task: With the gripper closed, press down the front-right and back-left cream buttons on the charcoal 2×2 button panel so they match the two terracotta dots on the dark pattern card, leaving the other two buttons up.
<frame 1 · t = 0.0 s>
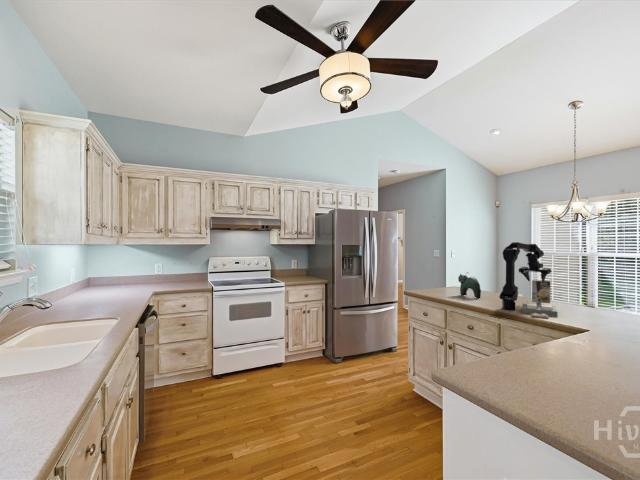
hand: (536, 281, 215), 16 cm above the table, tool pointing down, fingers open, 9 cm apart
button front left: (531, 306, 189), point 4 cm above the table, slide at 0.0 cm
button back right: (546, 305, 190), point 4 cm above the table, slide at 0.0 cm
pattern card: (539, 316, 178), on the table
control panel: (539, 312, 190), on the table
coffee box: (541, 303, 216), on the table
ceramic cat: (470, 297, 244), on the table
button front right: (546, 307, 184), point 4 cm above the table, slide at 0.0 cm
button back left: (531, 304, 195), point 4 cm above the table, slide at 0.0 cm
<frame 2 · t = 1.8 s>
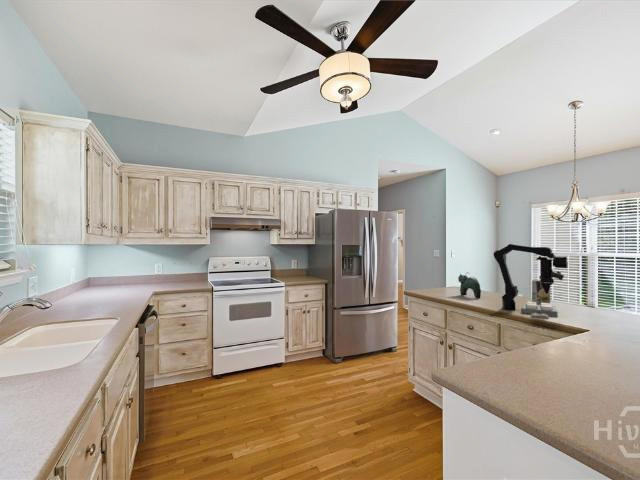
hand: (546, 292, 185), 13 cm above the table, tool pointing down, fingers open, 8 cm apart
nothing on the table moved.
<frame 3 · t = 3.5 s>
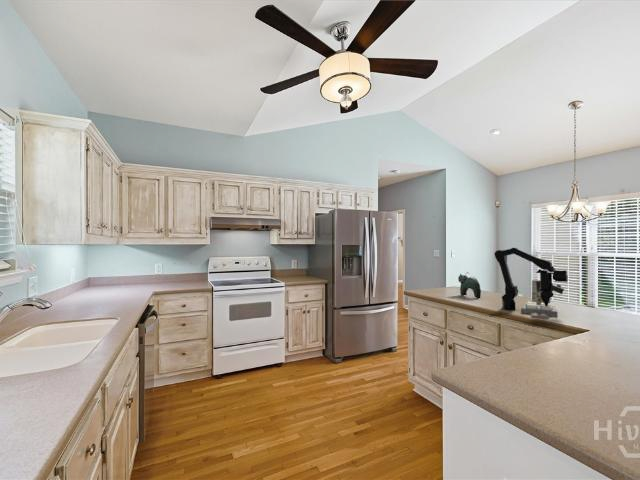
hand: (546, 306, 184), 5 cm above the table, tool pointing down, fingers closed, pressing on button front right
button front right: (546, 308, 184), point 4 cm above the table, slide at 0.2 cm, touching gripper
everything else where it was.
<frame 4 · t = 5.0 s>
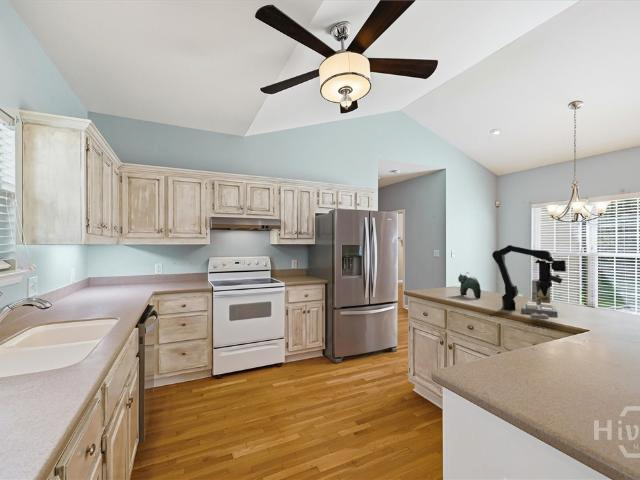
hand: (545, 296, 185), 11 cm above the table, tool pointing down, fingers closed
button front right: (546, 310, 184), point 2 cm above the table, slide at 1.5 cm
everything else where it was.
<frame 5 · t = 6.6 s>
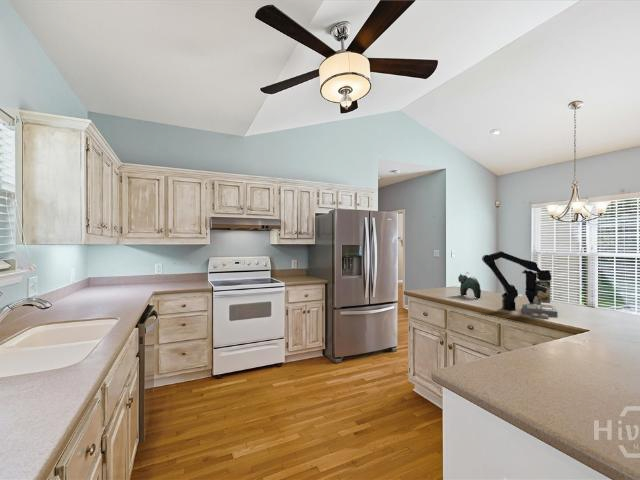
hand: (531, 304, 195), 4 cm above the table, tool pointing down, fingers closed, pressing on button back left
button back left: (531, 306, 195), point 2 cm above the table, slide at 1.3 cm, touching gripper
everything else where it was.
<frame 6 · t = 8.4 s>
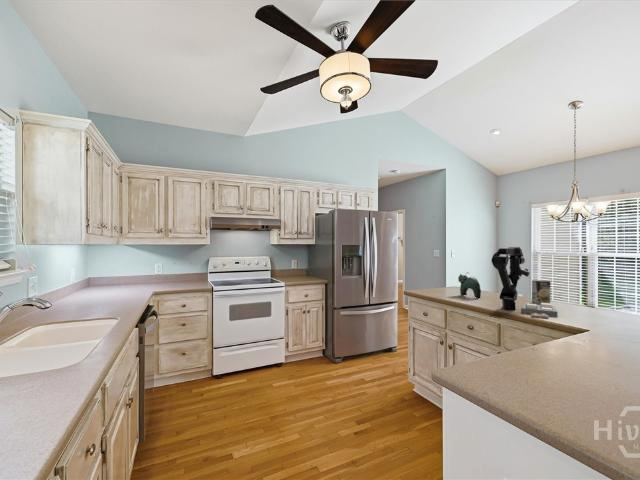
hand: (515, 287, 207), 13 cm above the table, tool pointing down, fingers closed
button back left: (531, 306, 195), point 2 cm above the table, slide at 1.5 cm
everything else where it was.
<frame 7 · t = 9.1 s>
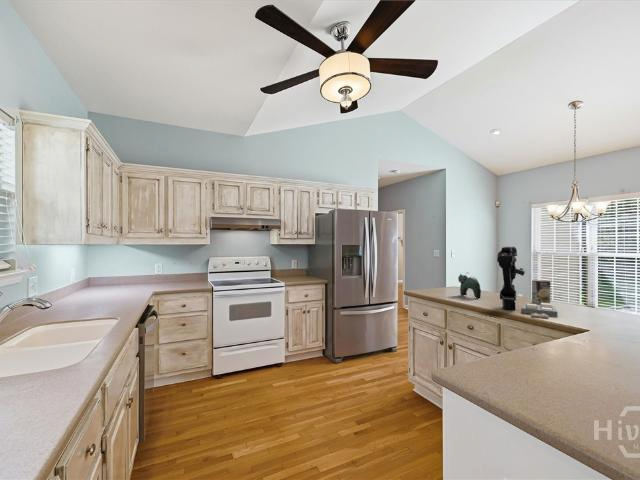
hand: (510, 286, 210), 13 cm above the table, tool pointing down, fingers closed
nothing on the table moved.
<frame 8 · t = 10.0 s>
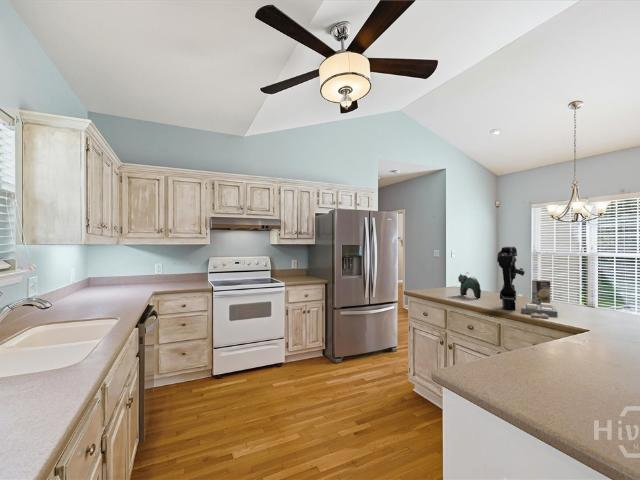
hand: (510, 286, 210), 13 cm above the table, tool pointing down, fingers closed
nothing on the table moved.
at the end: button front right slide at 1.5 cm; button back left slide at 1.5 cm; button back right slide at 0.0 cm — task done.
